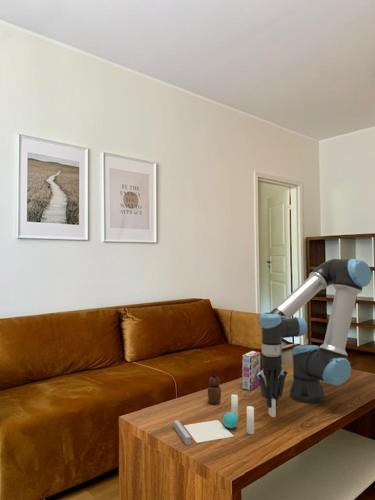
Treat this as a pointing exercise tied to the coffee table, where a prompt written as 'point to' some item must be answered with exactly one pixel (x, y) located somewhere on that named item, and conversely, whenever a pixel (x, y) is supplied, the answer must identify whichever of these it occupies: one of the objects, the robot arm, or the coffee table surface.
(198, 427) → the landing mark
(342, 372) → the robot arm
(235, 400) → the post
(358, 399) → the coffee table surface
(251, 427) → the post
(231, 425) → the ball
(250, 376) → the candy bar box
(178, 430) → the wall
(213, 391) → the wooden figurine
